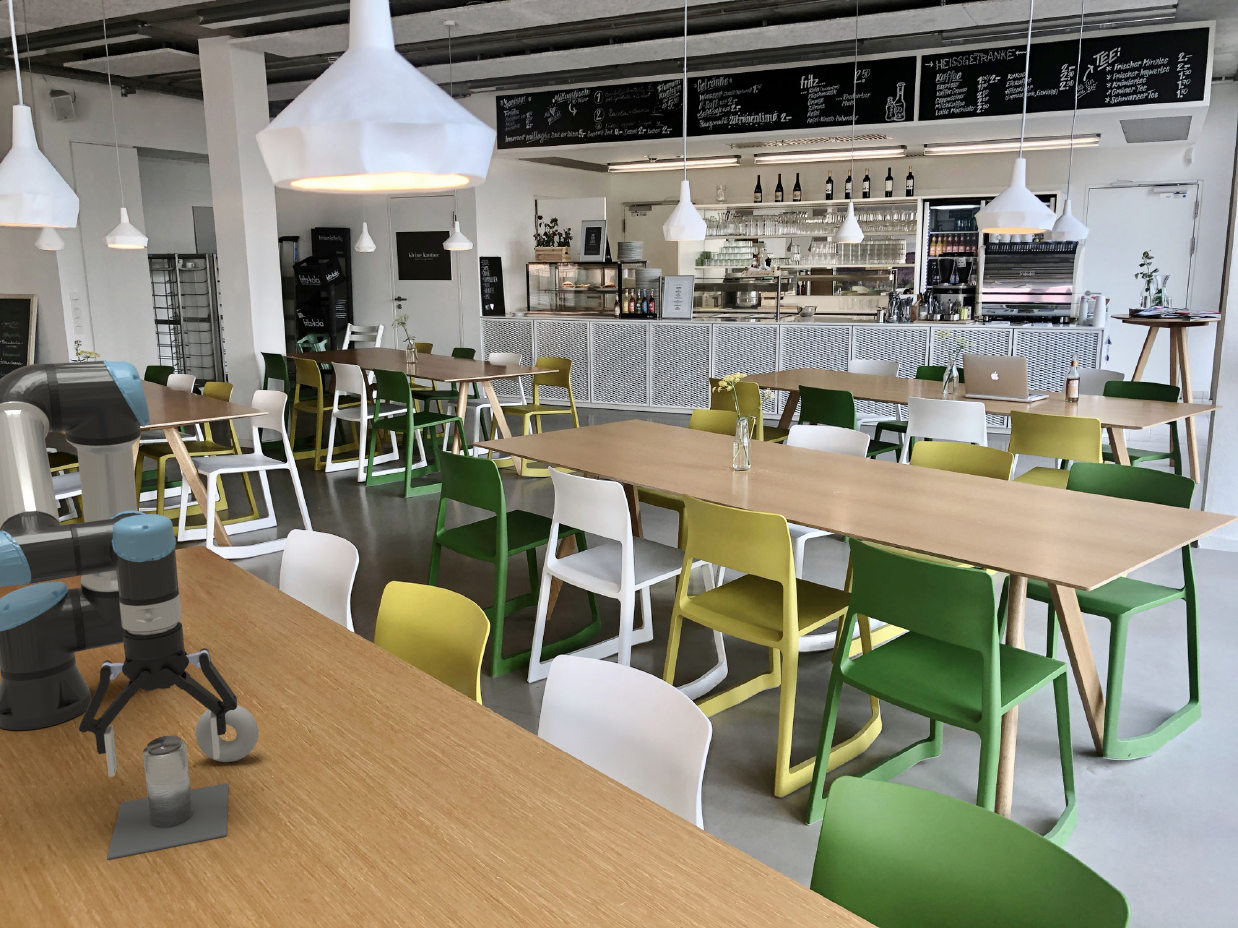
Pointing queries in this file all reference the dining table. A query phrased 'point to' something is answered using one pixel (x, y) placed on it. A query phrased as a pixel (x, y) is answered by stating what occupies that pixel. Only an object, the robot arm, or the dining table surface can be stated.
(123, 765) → the dining table surface
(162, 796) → the shaker
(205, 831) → the mat
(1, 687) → the robot arm
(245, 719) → the donut
